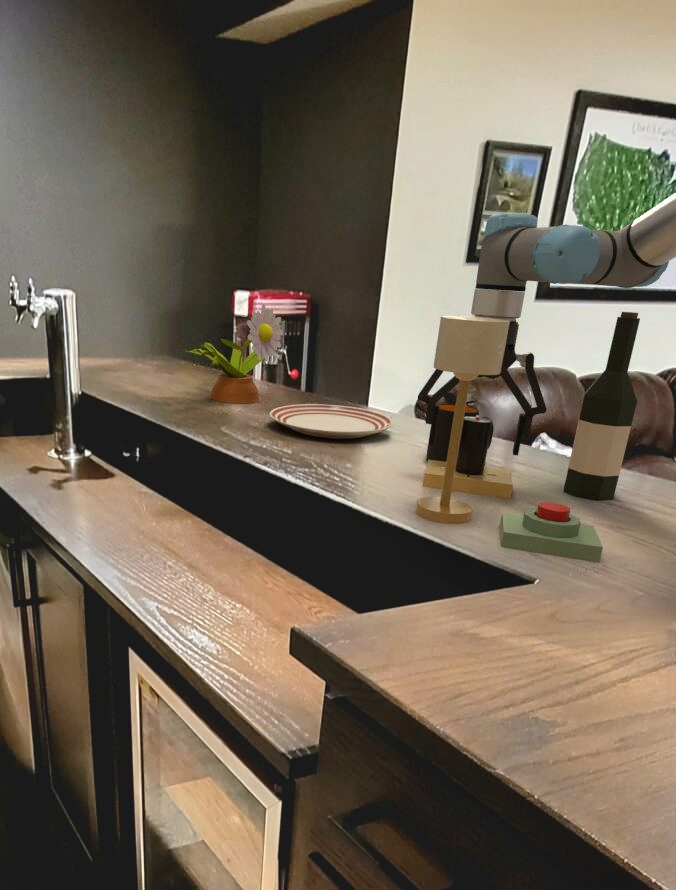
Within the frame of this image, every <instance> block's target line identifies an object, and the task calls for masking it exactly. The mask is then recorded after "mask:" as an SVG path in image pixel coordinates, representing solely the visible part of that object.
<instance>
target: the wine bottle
mask: <svg viewBox="0 0 676 890" xmlns="http://www.w3.org/2000/svg"><path fill="white" fill-rule="evenodd" d="M638 316H639V312H633V311H621V313H620V316H617V318H616V322H615V327H614V331H613V335H612V339H611V344H610V348H609V353H608V357H607V362H606V366H605V369H604V371H603V372H602V373H601V374H599V376H598V377H597V378H596V379H595V380H594V382H593V383H592V384H591V385H590V386H589V387H588V388H587V389H586V391H584V393H583V399H582V404H581V409H580V413H579V417H578V421H577V427H576V431H575V435H574V440H573V444H572V449H571V454H570V459H569V463H568V468H567V472H566V477H565V481H564V486H563V492H564V493H567V494H569V495H570V496H571V495H572V496H574V497H576V498H579V499H586V500H587V499H588V500H591V501H593V500H594V501H611V500H612V501H613V500H614V498H615V495H616V489H617V485H618V481H619V477H620V474H621V469H622V465H623V461H624V458H625V457H624V456H625V452H626V449H627V445H628V441H629V437H630V433H631V429H632V426H633V425H632V424H633V420H634V418H635V417H634V416H635V412H636V408H637V405H638V398H637V396H636V393H635V390H634V387H633V384H632V381H631V377H630V375H629V373H628V371H629V367H630V363H631V359H632V355H633V351H634V346H635V342H636V338H637V334H638V330H639V326H640V321H641V318H639V317H638Z"/></svg>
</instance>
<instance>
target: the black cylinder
mask: <svg viewBox="0 0 676 890" xmlns="http://www.w3.org/2000/svg"><path fill="white" fill-rule="evenodd" d="M482 417H483V416H480V414H479V415H476V417H471V416H468V417H464V420H463V426H462V432H461V438H460V444H459V450H458V457H457V463H456V469H455V471H457V472H459V473H463V474H468V475H481V474H483V472H484V467H486V462H487V461H486V460H487V456H488V455H487V454H488V450H489V449H488V444H489V439H490V433H491V428H492V423H494V421H493V420H492V419H491V418H489V419H487V418H482ZM490 419H491V420H490Z"/></svg>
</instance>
